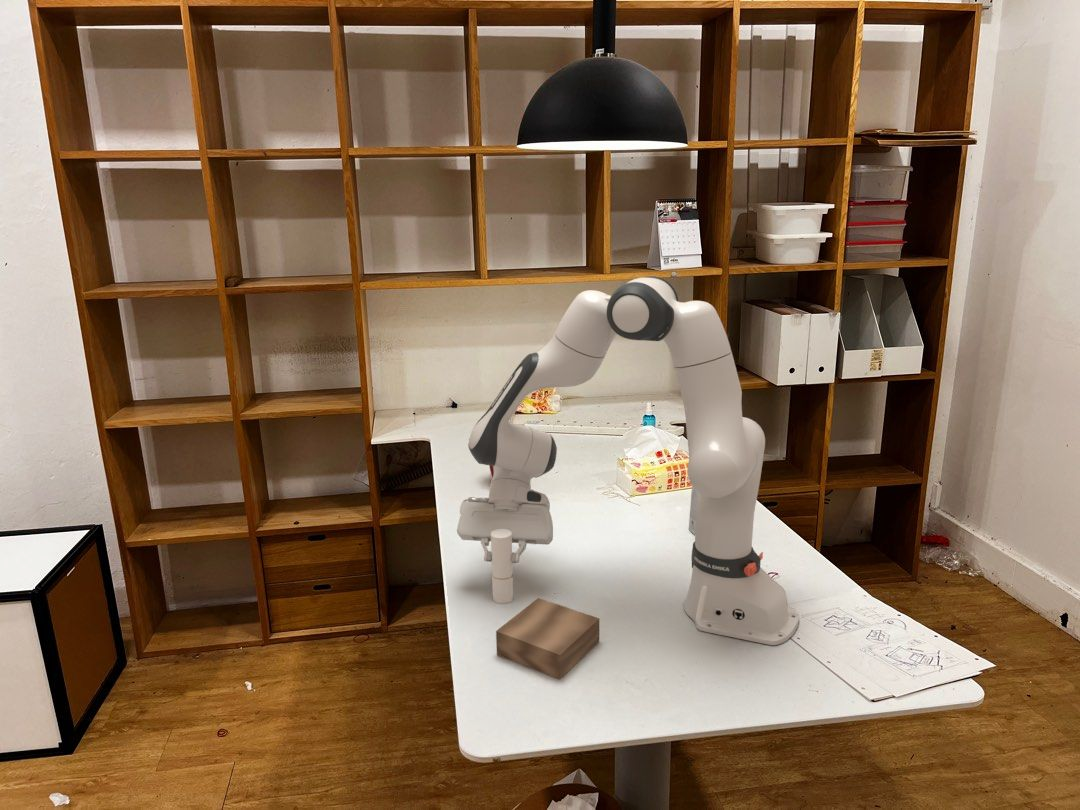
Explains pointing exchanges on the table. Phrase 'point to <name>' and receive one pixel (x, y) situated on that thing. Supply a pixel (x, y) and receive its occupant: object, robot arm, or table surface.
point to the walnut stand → (548, 637)
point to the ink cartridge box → (693, 509)
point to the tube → (502, 565)
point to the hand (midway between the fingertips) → (501, 561)
